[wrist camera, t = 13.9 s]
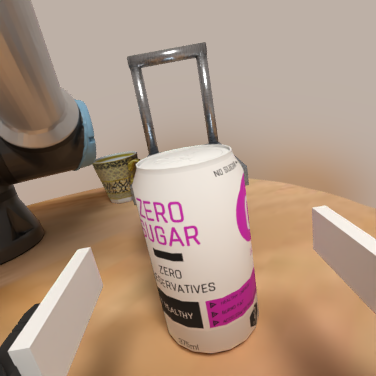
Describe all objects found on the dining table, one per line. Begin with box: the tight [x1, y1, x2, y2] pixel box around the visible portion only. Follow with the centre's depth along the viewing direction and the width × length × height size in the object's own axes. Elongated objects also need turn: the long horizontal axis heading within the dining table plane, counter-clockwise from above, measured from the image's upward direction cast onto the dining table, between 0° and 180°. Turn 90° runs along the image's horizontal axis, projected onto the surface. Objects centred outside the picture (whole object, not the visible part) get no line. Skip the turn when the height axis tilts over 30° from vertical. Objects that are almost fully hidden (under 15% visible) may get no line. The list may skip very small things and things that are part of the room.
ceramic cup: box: [93, 152, 140, 203], centre depth 59 cm, size 13×10×10 cm
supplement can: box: [132, 144, 259, 353], centre depth 21 cm, size 8×8×15 cm
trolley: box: [127, 42, 249, 205], centre depth 34 cm, size 22×12×26 cm, turn 3°
